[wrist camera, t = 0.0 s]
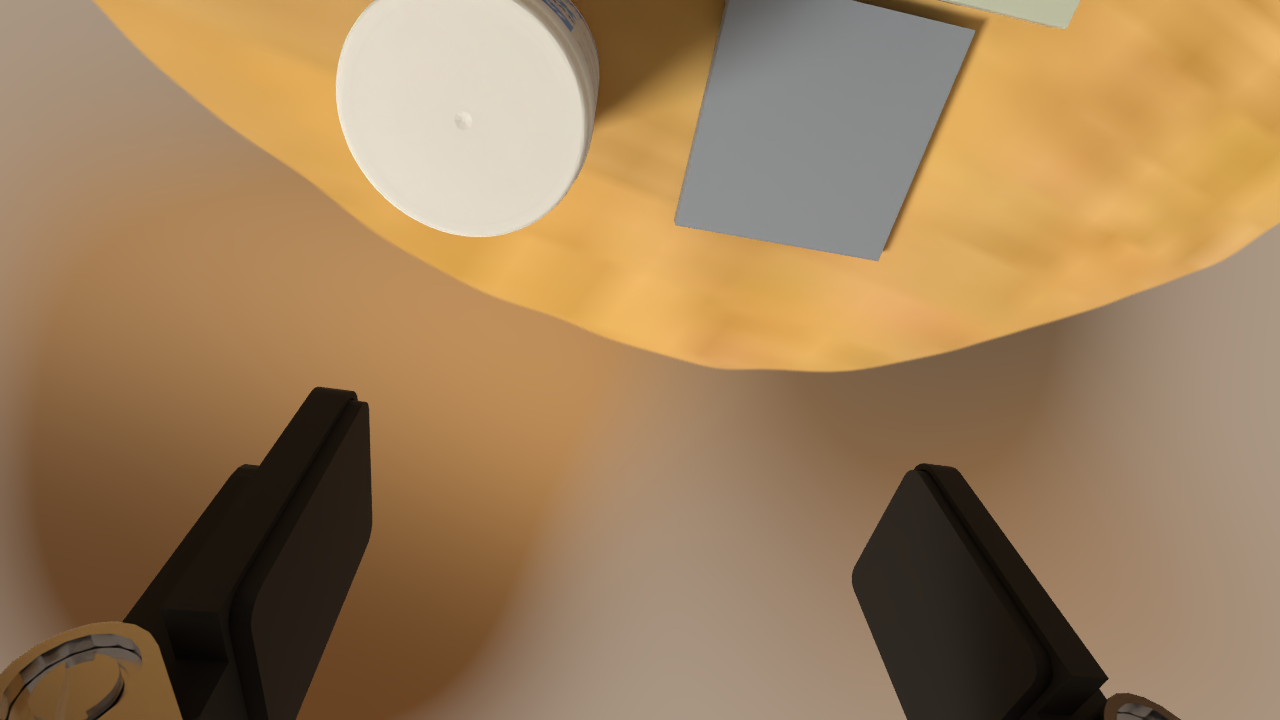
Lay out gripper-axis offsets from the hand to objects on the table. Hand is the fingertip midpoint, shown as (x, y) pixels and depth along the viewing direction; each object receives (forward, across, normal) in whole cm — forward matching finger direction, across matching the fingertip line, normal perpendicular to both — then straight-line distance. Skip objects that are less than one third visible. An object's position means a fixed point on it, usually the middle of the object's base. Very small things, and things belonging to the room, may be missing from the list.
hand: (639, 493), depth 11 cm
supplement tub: (+32, +6, -2) cm, 32 cm away
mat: (+31, -12, -2) cm, 33 cm away
